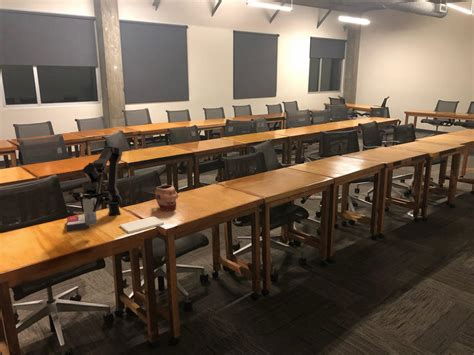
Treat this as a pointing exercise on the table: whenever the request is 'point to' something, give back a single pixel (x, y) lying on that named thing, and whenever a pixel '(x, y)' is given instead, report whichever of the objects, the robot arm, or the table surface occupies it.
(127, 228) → the tile
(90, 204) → the tin
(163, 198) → the decorative planter
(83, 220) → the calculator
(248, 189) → the table surface
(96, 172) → the robot arm
